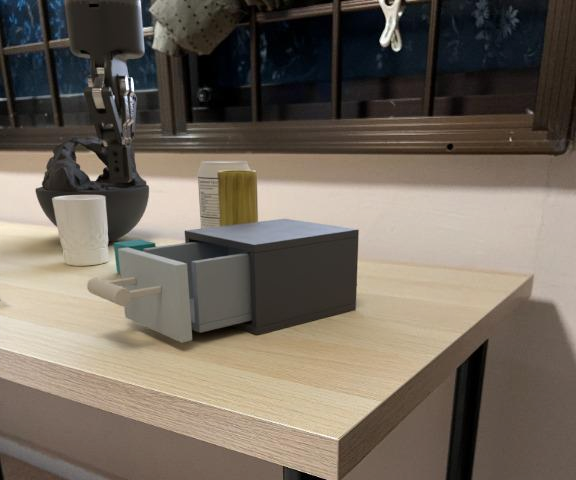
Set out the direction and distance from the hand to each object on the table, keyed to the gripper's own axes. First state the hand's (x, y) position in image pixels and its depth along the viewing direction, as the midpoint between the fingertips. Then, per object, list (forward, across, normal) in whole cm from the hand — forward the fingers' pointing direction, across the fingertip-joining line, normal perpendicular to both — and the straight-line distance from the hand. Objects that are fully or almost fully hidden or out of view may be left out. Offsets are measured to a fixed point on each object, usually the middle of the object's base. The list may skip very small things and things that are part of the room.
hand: (121, 182), depth 69 cm
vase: (+14, -14, +12) cm, 23 cm away
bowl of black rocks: (+14, -45, -16) cm, 50 cm away
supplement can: (+14, -25, +10) cm, 30 cm away
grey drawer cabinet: (+14, +4, +17) cm, 22 cm away
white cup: (+14, -26, -13) cm, 32 cm away
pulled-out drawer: (+13, +11, +8) cm, 19 cm away
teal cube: (+14, -17, -3) cm, 22 cm away
